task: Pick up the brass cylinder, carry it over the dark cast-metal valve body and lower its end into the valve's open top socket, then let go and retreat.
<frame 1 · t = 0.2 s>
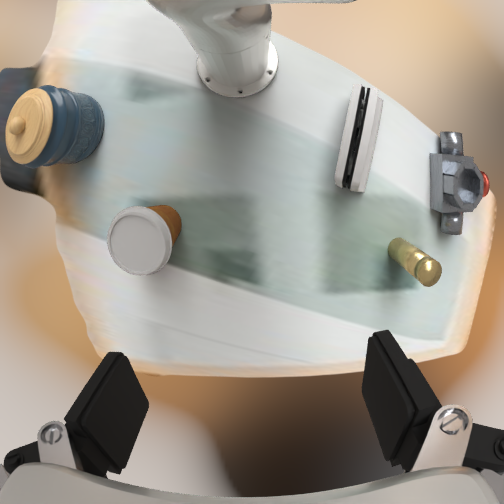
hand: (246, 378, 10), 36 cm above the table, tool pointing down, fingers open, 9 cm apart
canister: (78, 128, 40), on the table
disposable coffee cup: (164, 223, 46), on the table
brass cylinder: (397, 248, 46), on the table
valve body: (446, 181, 41), on the table
white slotted block: (352, 139, 41), on the table
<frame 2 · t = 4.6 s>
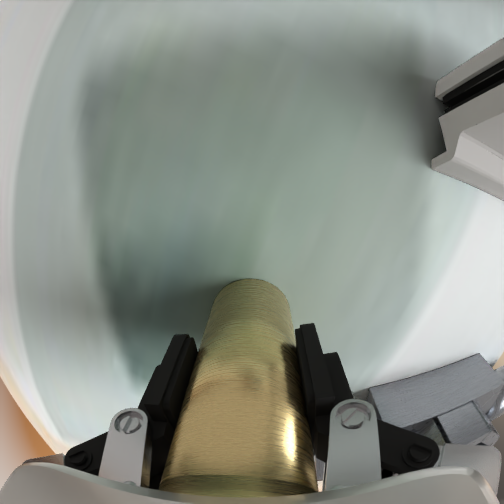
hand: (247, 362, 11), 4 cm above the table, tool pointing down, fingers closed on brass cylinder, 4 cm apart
brass cylinder: (250, 314, 14), on the table, touching gripper
valve body: (418, 406, 17), on the table
when the fingers open (9 cm above the table, at t = 10.5 s): brass cylinder drops 1 cm, resting on valve body.
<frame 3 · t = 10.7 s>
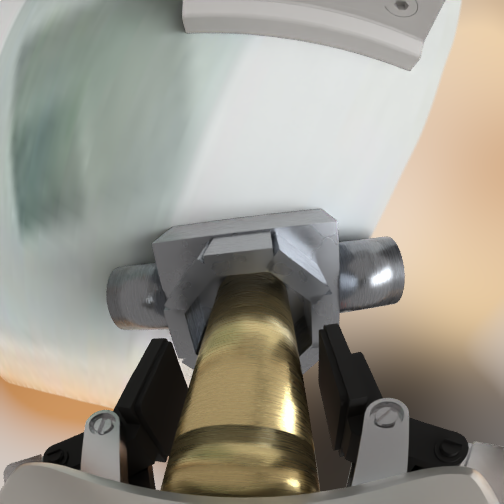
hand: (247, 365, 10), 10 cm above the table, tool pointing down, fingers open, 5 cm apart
brass cylinder: (252, 300, 16), point 4 cm above the table, touching valve body
valve body: (253, 274, 20), on the table
white slotted block: (306, 3, 14), on the table
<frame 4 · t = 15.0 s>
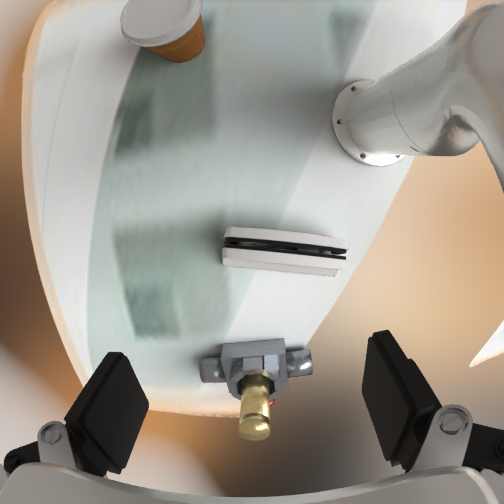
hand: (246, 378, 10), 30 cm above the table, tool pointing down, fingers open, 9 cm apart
disposable coffee cup: (183, 44, 31), on the table
brass cylinder: (256, 374, 42), point 4 cm above the table, touching valve body
valve body: (256, 359, 46), on the table
white slotted block: (282, 244, 40), on the table
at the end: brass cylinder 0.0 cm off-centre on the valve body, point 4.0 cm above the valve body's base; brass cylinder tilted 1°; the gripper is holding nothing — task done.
